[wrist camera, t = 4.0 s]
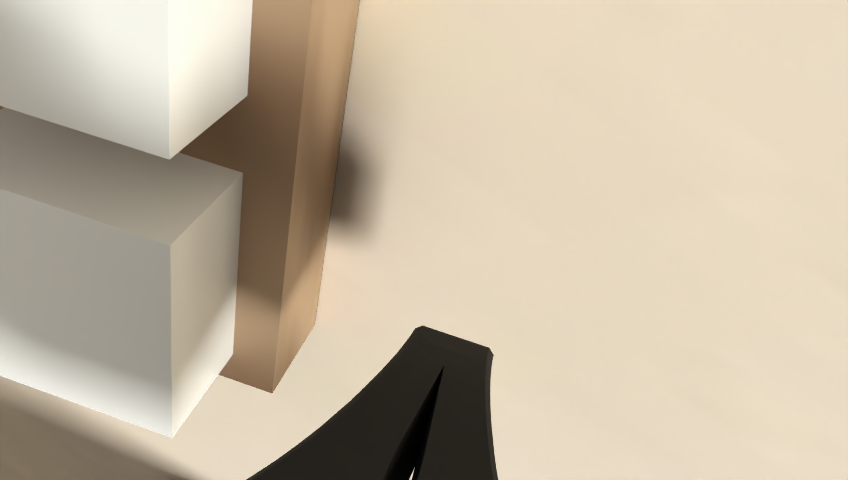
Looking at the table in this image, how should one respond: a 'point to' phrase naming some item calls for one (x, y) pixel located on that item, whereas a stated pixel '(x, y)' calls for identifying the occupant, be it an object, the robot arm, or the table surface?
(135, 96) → the tile
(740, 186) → the table surface
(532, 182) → the table surface
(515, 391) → the table surface
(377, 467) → the robot arm
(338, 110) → the ledge
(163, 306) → the tile
